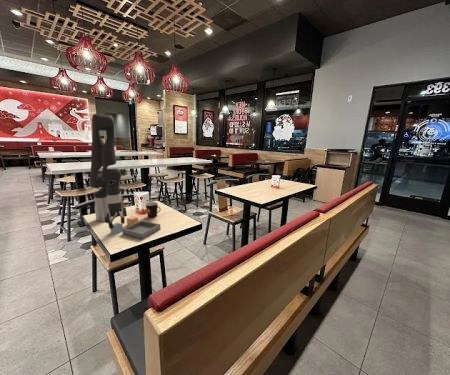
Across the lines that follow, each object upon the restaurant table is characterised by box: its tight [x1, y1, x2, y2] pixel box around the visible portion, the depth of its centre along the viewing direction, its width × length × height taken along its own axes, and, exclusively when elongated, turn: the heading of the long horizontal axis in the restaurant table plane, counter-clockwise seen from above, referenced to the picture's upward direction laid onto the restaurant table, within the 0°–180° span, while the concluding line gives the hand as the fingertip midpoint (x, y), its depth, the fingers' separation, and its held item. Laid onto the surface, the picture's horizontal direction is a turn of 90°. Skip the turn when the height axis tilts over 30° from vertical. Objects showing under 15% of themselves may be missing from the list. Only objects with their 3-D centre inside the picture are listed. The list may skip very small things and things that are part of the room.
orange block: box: [126, 215, 139, 226], centre depth 146 cm, size 5×5×5 cm
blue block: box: [109, 222, 124, 235], centre depth 134 cm, size 5×5×5 cm
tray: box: [121, 219, 161, 240], centre depth 136 cm, size 16×16×4 cm
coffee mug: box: [145, 201, 162, 219], centre depth 160 cm, size 12×9×10 cm
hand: (117, 225), depth 134 cm, fingers open, 8 cm apart
